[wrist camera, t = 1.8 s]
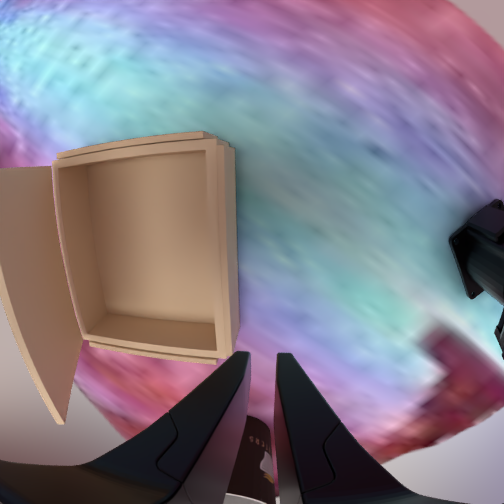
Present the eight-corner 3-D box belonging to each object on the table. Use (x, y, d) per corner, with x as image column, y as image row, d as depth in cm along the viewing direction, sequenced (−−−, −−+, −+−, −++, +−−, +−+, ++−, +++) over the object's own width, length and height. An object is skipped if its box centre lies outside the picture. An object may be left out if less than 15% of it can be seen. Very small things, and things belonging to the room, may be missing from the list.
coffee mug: (196, 401, 26) (168, 482, 17) (284, 409, 26) (280, 497, 16) (206, 459, 30) (189, 524, 20) (275, 466, 29) (270, 533, 20)
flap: (51, 166, 16) (-13, 169, 8) (83, 340, 20) (65, 424, 11) (43, 167, 15) (-23, 172, 7) (76, 341, 19) (56, 424, 11)
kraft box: (235, 135, 19) (223, 129, 15) (240, 333, 23) (233, 365, 19) (83, 153, 20) (50, 154, 16) (107, 320, 24) (83, 344, 20)
